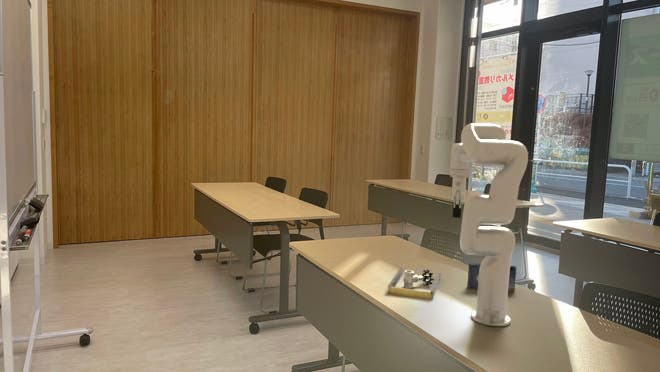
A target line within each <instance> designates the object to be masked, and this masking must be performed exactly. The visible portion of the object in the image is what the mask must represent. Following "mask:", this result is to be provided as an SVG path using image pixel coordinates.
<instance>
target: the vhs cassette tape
mask: <svg viewBox="0 0 660 372" xmlns="http://www.w3.org/2000/svg"><path fill="white" fill-rule="evenodd" d="M480 265H481V263H475V262H474V263H473V262H468V272H467V282H466V283H467V284H466V285H467V288H468V289H471V290H478V282H479V269H480ZM516 275H517V267H516V266H515V265H510V273H509V284H508V292H515V289H516V277H517V276H516Z"/></svg>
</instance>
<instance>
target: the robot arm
mask: <svg viewBox="0 0 660 372" xmlns="http://www.w3.org/2000/svg"><path fill="white" fill-rule="evenodd" d="M460 140H461V141H460V143H459V142H458V143H453V144H452V145H451V156H450V171H449V177H451V178H452V187H451V188H452V189H451V190H452V192H451V194H452V196H451V198H452V201H453V208H452V218H454V219H455V218H457V219H460V218H461V217H462V220H461V228H460V234H459V235H460V236H459V247H460V250H461V252H462V253H463V254H465V255H468V256H485V257H484V259H483V260H482V261H481V263H480V264H481V265H480V269H479V282H478V289H477V295H476V296H477V298H476V309H475V310H473V311H472V312H471V315H470V317H471V319H472V320H474V321H475V322H477V323H479V324H482V325H485V326H491V327H505V326H509V325H510V324H511V317H510V316H509V315H508V314H507V306H508V297H509V296H508V295H509V293H508V292H509V291H508V284H509V273H510V266H511V262H512V258H513V254H514V250H515V246H516V236H515V233H514V232H513V231H512V230H511V229H509V228H507V227H504V226H498V225H509V224H510V223H512V222H513V220H514V218H515V214H516V208H517V202H518V195H519V189H520V184H521V182H522V181H521V180H522V179H523V177H524V174H525V172H526V170H527V168H528V167H527V166H528V163H529V162H528V160H529V153H528V152H529V151H528V149H527V148H526V145H524V144H523V143H521V142H520V141H516V140H509V139H508V140H507V133H506V130H504V127H502V126H501V125H498V124H494V123H493V124H492V123H477V122H476V123H475V122H473V123H472V122H471V123H468V124H466V125H465V126H464V127H463V129H462V130H461V135H460ZM470 163H471V164H473V165H475V166H479V167H502V168H501V169H500V170H499V171H498V172H496V174H495V176H493V178H492V179H491V182H490V189H489V193H488V194H472V195H470V196H469V197H468V198H467V199H466V192H467V191H466V190H467V189H466V188H467V178H468V179H469V178H470V177H469V176H470ZM465 200H466V201H465ZM462 202H464V206H463V211H462ZM481 225H483V226H481ZM485 225H487V226H485ZM489 225H490V226H489ZM491 225H497V226H491Z"/></svg>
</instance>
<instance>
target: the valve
mask: <svg viewBox="0 0 660 372" xmlns="http://www.w3.org/2000/svg"><path fill="white" fill-rule="evenodd" d="M430 271H431V270H430V268H427V269H423V273H422V274H421V275H417V274H414V270H409V269H406V270H404V276H403V288H405V289H413V288H414V283H418V282H419V281H422V282H424V283H425V285H426V286H429V285H433V281H435V278H434V277H433V275H434V273H433V272H432V271H431V272H430Z"/></svg>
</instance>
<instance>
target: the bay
mask: <svg viewBox="0 0 660 372" xmlns="http://www.w3.org/2000/svg"><path fill="white" fill-rule="evenodd" d="M441 273H442V272H441V271H438V272H437V274H436V276H435V278H434V280H433V281H434V282H433V283H432V287H431V289H430V291H425V290H419V289H413V288H411V289H408V288H404V287H397V284H398V282H399V281H400V279H401V278H402V276H403V275H404V267H403V266H402V267H400V268H399V269H398V271H397V272H396V274H395V275H394V277H393V278H392V280H391V281H390V282H389V284H388V285H387V294H391V295H396V296H397V295H398V296H404V297H411V298H418V299H427V300H433V299H434V297H435V295H436V291H437V289H438V286H439V283H440V280H441ZM433 301H434V300H433Z"/></svg>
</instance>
